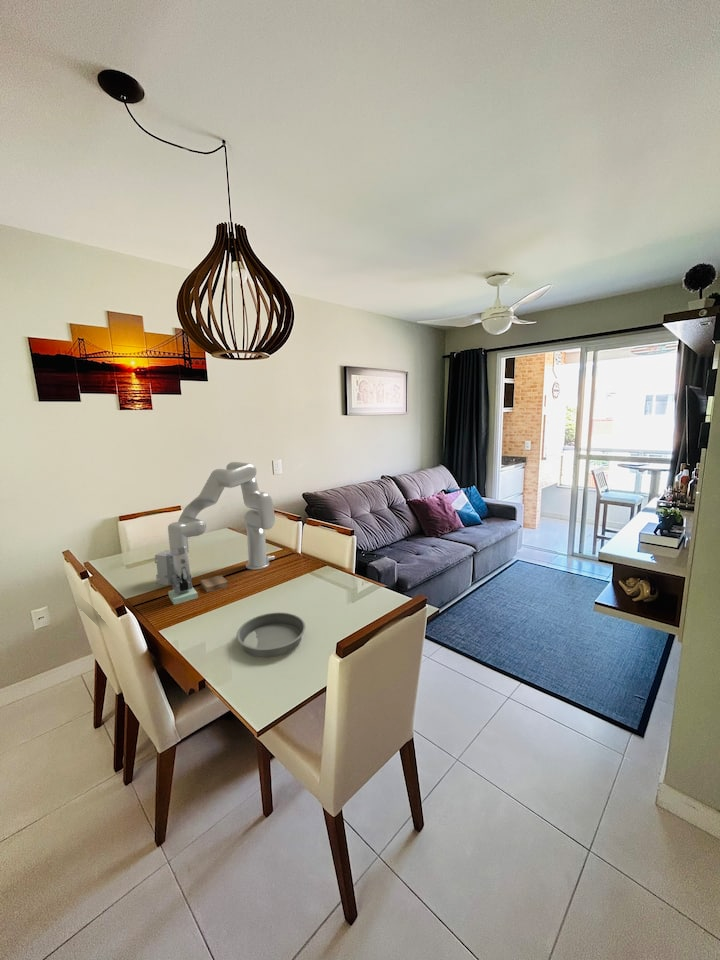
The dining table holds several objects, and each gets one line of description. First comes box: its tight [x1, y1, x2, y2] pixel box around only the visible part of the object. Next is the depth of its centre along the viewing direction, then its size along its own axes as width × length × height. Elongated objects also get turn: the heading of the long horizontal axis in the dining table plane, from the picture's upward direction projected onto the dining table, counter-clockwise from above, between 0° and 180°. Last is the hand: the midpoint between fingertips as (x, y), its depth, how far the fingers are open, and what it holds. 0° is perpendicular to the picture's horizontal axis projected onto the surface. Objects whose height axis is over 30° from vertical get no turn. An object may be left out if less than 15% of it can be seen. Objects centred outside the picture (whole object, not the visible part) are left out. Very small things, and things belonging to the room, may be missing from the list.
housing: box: [172, 573, 193, 593], centre depth 171 cm, size 7×5×7 cm
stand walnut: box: [200, 574, 229, 593], centre depth 184 cm, size 10×10×2 cm
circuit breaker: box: [154, 549, 176, 586], centre depth 187 cm, size 8×14×15 cm, turn 78°
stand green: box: [168, 586, 199, 605], centre depth 172 cm, size 10×10×2 cm
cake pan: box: [236, 612, 307, 659], centre depth 140 cm, size 25×25×4 cm
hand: (182, 587), depth 172 cm, fingers closed on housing, 5 cm apart
